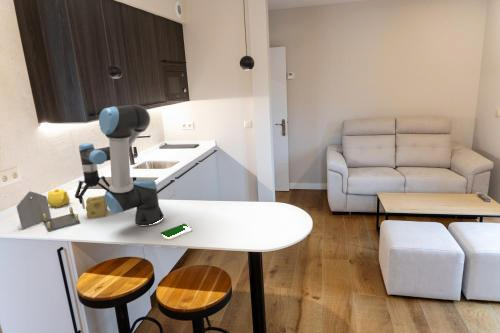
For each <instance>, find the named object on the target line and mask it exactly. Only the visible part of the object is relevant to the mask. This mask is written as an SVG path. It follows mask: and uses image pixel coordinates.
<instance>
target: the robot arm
mask: <svg viewBox="0 0 500 333" xmlns="http://www.w3.org/2000/svg"><path fill="white" fill-rule="evenodd" d="M150 123H151V116H150V114H149V112H148V110H147V109H146V108H145V107H144V106H142V105H139V104H128V105H119V106H118V105H117V106H110V107H105V108H103V109H102V110H101V112H100V113H99V118H98V126H99V128H100V129H99V130H100V131H101V133H103V134H104V135H105V137H106V138H107V139H108V142H109V146H105V147H101V148H95V146H94V144H93V143H92V142H85V143H80V144H79V145H78V150H79V151H78V152H79V156H80V162H81V167H82V171H83V180H78V186H77V189H76V191H75V194H74V197H75V199H78V201H79V204H80V205H81V207H82V209H83V210H86V206H85V205H86V204H85V199H84V197H83V196H84V195H85V193H86V192H87V190H88V189H89V187H90V188H93V187H97V186H99V187H101V189H102V188H103V189H104V190H105V193H104V195H103V196H104V198H105V202H106V204H107V208H108V209H109V211H110V212H111V213H113V214H120V213H125V212H127V211H129V210H132V209H136V211H135V217H134V222H135V225H136V224H138V225H149V224H153V223H155V222H157V221H159V220H161V219H162V218H163V216H164V213H163V211H162V209H161V207H160V203H159V198H158V197H159V196H158V187H157V183H156V181H154V180H153V179H150V178H149V179H147V178H146V179H143V178H142V179H136V180H133V182H131V168H130V167H131V166H130V151H131V150H130V147H131V146H132V145H133V144H134V142H135V141H136V139H137V138H138V137H139V136H140V135H141V133H144V132H145V131H146V130H147V129H148V127H149V125H150ZM108 161H110V174H111V177H110V178H111V184H110V183H109V182H108V181H107V180H106V177H105V176H104V175H102V176H100V175H99V171H98V165H103V164H104V163H105V162H108ZM100 181H102V182H104V184H105V185H106V186H107V187H108V188H107V187H106V186H105V185H103V184H102V183H100ZM83 185H84V187H82V186H83ZM138 225H137V226H138Z"/></svg>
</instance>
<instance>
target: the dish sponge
mask: <svg viewBox="0 0 500 333" xmlns="http://www.w3.org/2000/svg"><path fill="white" fill-rule="evenodd" d="M187 225H188V224H186V223H182V225H181V224H179V225H176V226H174V227H171V228H169V229H166V230H163V231H161V232H160V235H161V234H163V235H165V236H167V237H170V236H172V235H175V234H177V233H179V232H181V231H183V230H185V228H183V226H187ZM188 226H189V225H188ZM188 226H187V227H188Z"/></svg>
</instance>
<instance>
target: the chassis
mask: <svg viewBox="0 0 500 333" xmlns="http://www.w3.org/2000/svg"><path fill="white" fill-rule="evenodd" d="M68 209H69V214H64V215H61V216H58V217H57V216H56V217H53V218H52V217H51V219H48V220H47V217H46V214H42V215H43V219H44V222H43V224H44V226H45V228H46V230H47V232H48V233H50V232H53V231H57V230H58V231H59V230H61V229H65V228H69V227H71V226H75V225H76V226H77V225H79V224H81V221H80V219H79V215H78V213H77V214H76V213H74V210H73V206H70V207H69V208H68Z"/></svg>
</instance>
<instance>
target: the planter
mask: <svg viewBox="0 0 500 333" xmlns="http://www.w3.org/2000/svg"><path fill="white" fill-rule="evenodd" d="M16 211H17V214H18V218H19V223H20V227H21V230H22V231H23V230H26V229H28V228H32V227H33V226H35V225H36V226H37V225H38V224H40V223H44V219H43V215H42V214H46V217H47V220H48V219H52V216H51V215H52V214H51V211H50V205H49V204H48V196H46V195H44V194H40V193H37V192H34V191H30V190H29V191H28V192H27V193H26V195H24V197H23V198H22V199H21V200H20V202H19V203H18V204H17V205H16Z"/></svg>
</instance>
